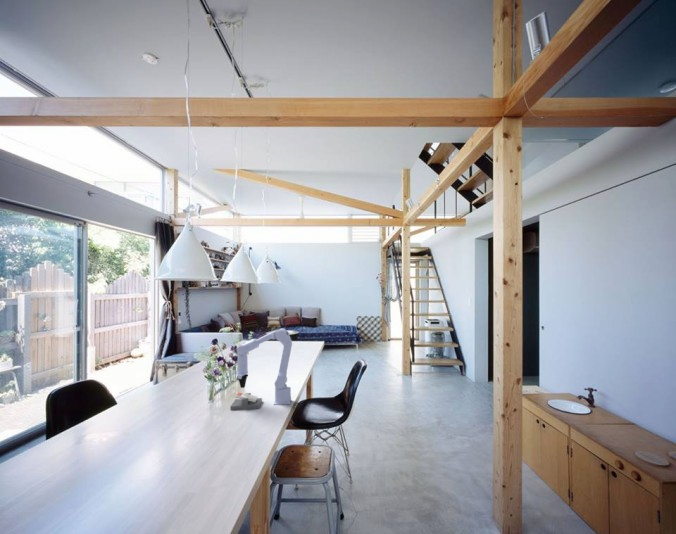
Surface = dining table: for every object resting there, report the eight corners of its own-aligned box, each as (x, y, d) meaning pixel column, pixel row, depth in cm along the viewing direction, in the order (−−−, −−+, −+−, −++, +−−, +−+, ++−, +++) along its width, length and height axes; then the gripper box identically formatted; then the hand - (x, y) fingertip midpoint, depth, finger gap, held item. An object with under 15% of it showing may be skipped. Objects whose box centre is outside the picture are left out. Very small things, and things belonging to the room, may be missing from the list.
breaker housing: (261, 401, 195) (261, 392, 195) (258, 408, 184) (258, 398, 184) (235, 402, 194) (235, 393, 194) (230, 409, 183) (230, 400, 183)
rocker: (257, 398, 192) (257, 396, 192) (255, 402, 186) (255, 399, 186) (237, 394, 192) (238, 391, 192) (235, 397, 186) (235, 395, 186)
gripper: (239, 361, 200) (239, 383, 200) (232, 368, 186) (232, 391, 185) (250, 361, 201) (250, 383, 200) (244, 367, 186) (245, 391, 186)
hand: (242, 387), depth 193 cm, fingers closed
